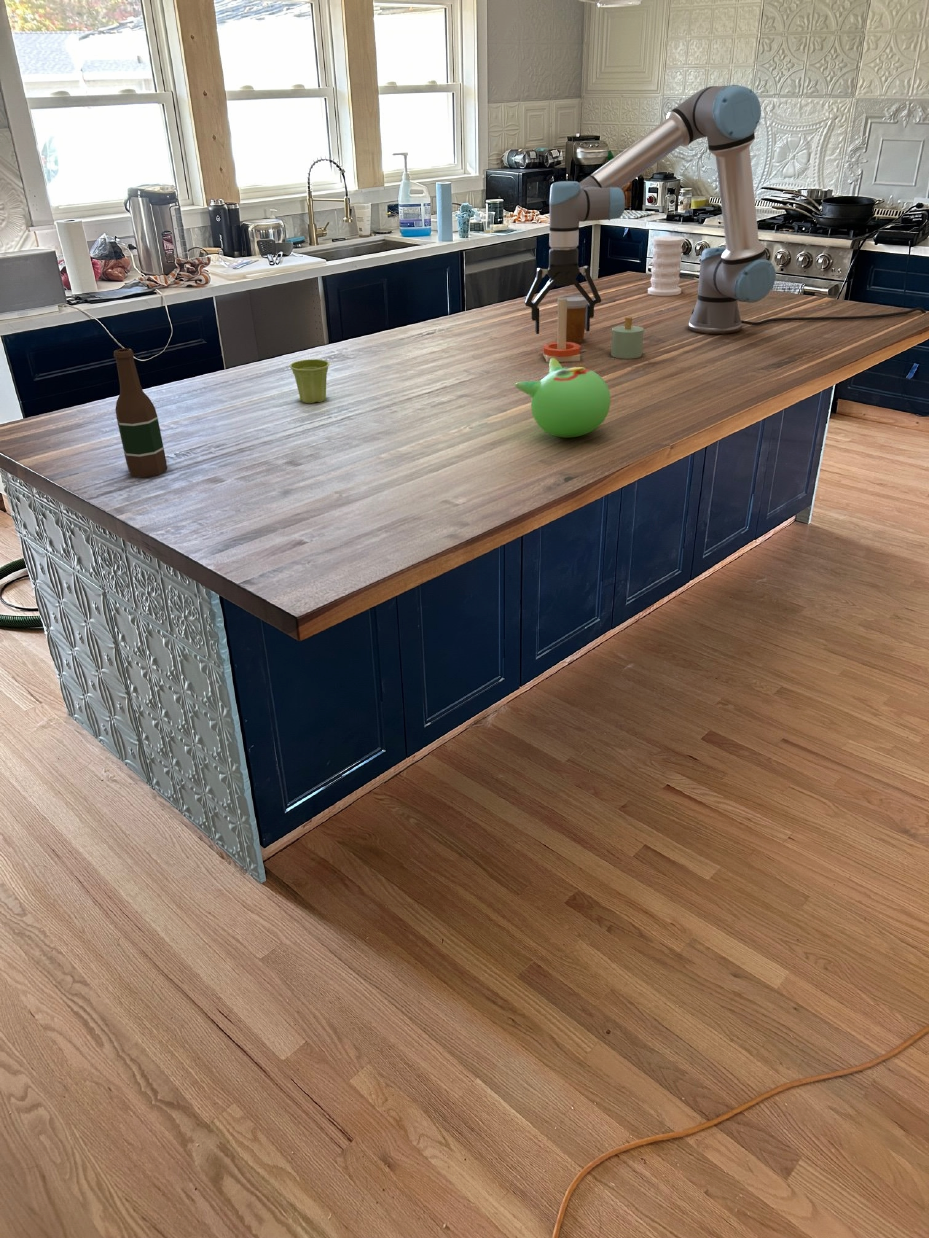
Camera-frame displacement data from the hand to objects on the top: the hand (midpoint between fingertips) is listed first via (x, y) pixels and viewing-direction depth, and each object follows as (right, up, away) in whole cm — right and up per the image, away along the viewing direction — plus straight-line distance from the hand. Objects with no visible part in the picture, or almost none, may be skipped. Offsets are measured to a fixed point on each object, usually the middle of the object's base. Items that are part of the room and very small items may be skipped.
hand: (562, 331), depth 249 cm
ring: (0, -5, +3) cm, 5 cm away
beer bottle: (-90, -48, -65) cm, 121 cm away
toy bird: (-4, -38, -52) cm, 65 cm away
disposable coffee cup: (+5, +4, +20) cm, 21 cm away
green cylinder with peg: (+18, -5, +4) cm, 19 cm away
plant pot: (-63, -24, -25) cm, 72 cm away
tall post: (0, -6, +3) cm, 7 cm away
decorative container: (+44, +38, +78) cm, 97 cm away
